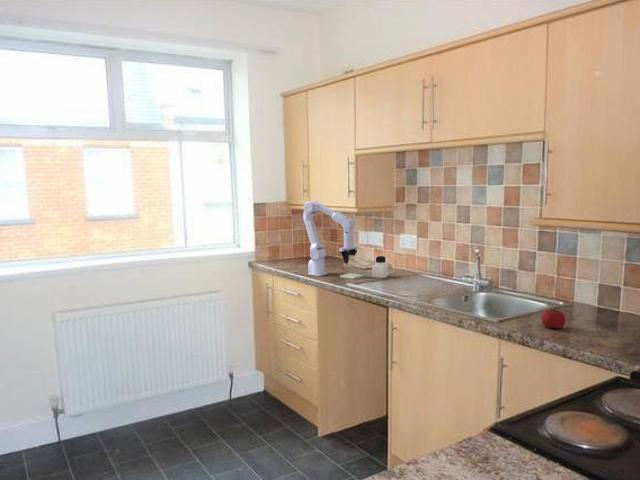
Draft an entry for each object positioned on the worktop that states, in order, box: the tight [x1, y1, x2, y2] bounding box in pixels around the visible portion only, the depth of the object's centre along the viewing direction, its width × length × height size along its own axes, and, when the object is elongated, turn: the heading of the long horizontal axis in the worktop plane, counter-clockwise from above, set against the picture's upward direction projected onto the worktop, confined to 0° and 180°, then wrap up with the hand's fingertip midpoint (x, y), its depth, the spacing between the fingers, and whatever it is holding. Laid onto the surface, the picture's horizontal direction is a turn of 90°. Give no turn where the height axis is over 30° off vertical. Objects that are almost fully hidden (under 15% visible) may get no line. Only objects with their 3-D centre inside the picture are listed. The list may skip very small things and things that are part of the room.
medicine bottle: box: [371, 255, 389, 279], centre depth 290 cm, size 7×7×12 cm
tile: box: [339, 273, 365, 280], centre depth 292 cm, size 10×10×1 cm
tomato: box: [540, 308, 566, 330], centre depth 185 cm, size 8×8×7 cm
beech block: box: [343, 254, 356, 268], centre depth 290 cm, size 4×4×6 cm
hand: (348, 262), depth 290 cm, fingers closed on beech block, 4 cm apart
